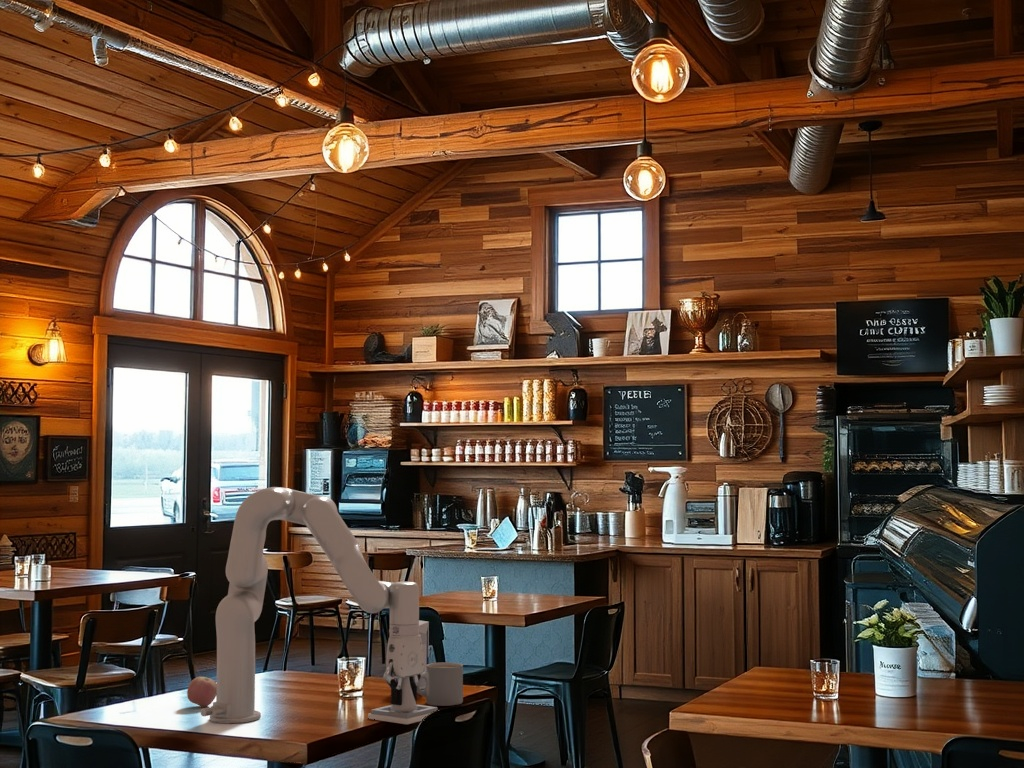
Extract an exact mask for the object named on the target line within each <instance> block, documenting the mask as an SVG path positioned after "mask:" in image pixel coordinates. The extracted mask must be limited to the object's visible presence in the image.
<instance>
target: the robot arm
mask: <svg viewBox="0 0 1024 768" xmlns="http://www.w3.org/2000/svg"><path fill="white" fill-rule="evenodd" d="M279 520H280V521H285V522H290V523H294V524H299V525H303V526H306V527H307V529H308V530H309V532H310V533H311V535H312V536H313V538H314V539H315V540H316V542H317V544H318V545H319V546H320V548H321V549H322V551H323V552H324V553H325V555H326V558H328V560H329V562H330V563H331V565H332V566H333V569H334V571H336V573H337V575H338V576H339V578H340V579H341V582H342V583H343V584H344V586H345V588H346V589H347V590H348V593H349V594H350V595H351V597H352V598H353V599H354V601H355V602H356V604H357V605H358V606H359V607H360V609H361V610H363V611H364V612H366V613H368V614H377V613H379V612H382V611H383V610H384V609H389V629H388V633H389V637H388V640H387V645H386V646H387V647H386V656H385V658H386V660H385V668H386V669H385V671H384V673H383V676H382V678H383V680H384V681H385V682H386V683H387V684H388V688H389V689H390V705H391V704H393V705H402V689H400V687H401V681H402V678H404V677H409V680H410V686H411V689H412V692H413V696H414V699H415V701H416V702H417V701H418V693H417V685H418V684H419V679H420V678H421V675H422V674H423V672H424V658H423V646H422V640H421V635H419V620H420V586H419V584H418V583H417V582H415V581H396V582H389V581H383V580H378V579H377V577H376V576H375V574H374V573H373V572H372V570H371V569H370V567H369V565H368V563H367V562H366V560H365V558H364V556H363V553H362V549H361V546H360V544H359V542H358V540H357V538H356V537H355V535H354V534H353V533H352V531H351V530H350V528H349V527H348V525H347V524H346V523H345V521H344V520H343V518H342V516H341V515H340V513H339V511H338V507H337V505H336V503H335V502H334V501H333V499H331V498H330V497H327V496H323V495H320V494H319V495H318V494H313V493H308V492H304V491H299V490H296V489H291V488H286V487H283V486H282V487H281V486H280V487H279V486H271V487H267V488H262V489H260V490H257V491H255V492H254V493H252V494H250V495H249V496H247V497H246V498H245V499H244V500H243V501H242V502H241V504H240V506H239V507H238V509H237V510H236V514H235V518H234V521H233V528H232V533H231V539H230V543H229V549H228V555H227V560H226V565H225V576H226V579H227V581H228V582H229V585H228V589H227V590H228V591H227V595H226V596H224V598H223V597H222V599H221V601H219V603H218V606H217V608H216V610H215V611H216V612H215V630H216V684H217V690H216V697H215V699H216V701H215V702H212V705H211V706H210V707H203V708H202V709H201V710H200V715H201V717H208V716H209V720H210V721H211V722H214V723H219V724H238V723H239V724H240V723H247V722H248V723H249V722H253V721H256V720H260V718H261V712H260V711H257V710H255V709H256V708H255V705H256V703H255V701H256V700H255V699H256V696H255V695H256V694H255V693H256V633H255V622H257V620H259V618H260V617H261V613H262V611H263V605H264V599H265V592H266V586H267V579H268V571H269V569H268V568H269V566H268V565H269V564H268V561H267V558H266V557H265V555H264V548H265V547H264V546H265V542H266V539H267V538H266V537H267V528H268V525H269V523H270V522H272V521H279ZM396 675H397V676H396ZM411 676H412V678H411ZM396 679H397V683H396Z"/></svg>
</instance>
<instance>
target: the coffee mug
mask: <svg viewBox="0 0 1024 768" xmlns="http://www.w3.org/2000/svg"><path fill="white" fill-rule="evenodd" d="M422 678H425V679H426V687H425V689H424V690H421V689H420V687H419V684H418V685H417V695H420V696H422V697H424V698H426V704H427V705H430V706H436V707H437V706H441V707H442V706H443V707H445V706H447V707H448V706H449V707H450V706H455V705H456V706H458V705H461V704H462V703H463V702H464V664H463V663H459V662H452V661H451V662H449V661H448V662H447V661H446V662H443V661H442V662H431V663H429V664H427V665H426V672H424V673H423V674H422V675H421V678H420V679H419V682H420V680H421V679H422Z"/></svg>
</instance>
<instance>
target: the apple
mask: <svg viewBox="0 0 1024 768" xmlns="http://www.w3.org/2000/svg"><path fill="white" fill-rule="evenodd" d="M216 690H217V681H216V680H214V679H212V678H209V677H207V676H196V677H195V678H193V679H192V680H191V681H190V683H189V684H188V688H187V691H186V694H187V699H188V701H190V703H192V704H195V705H196V706H197V705H198V706H200V708H201V707H202V708H208V706H209V705H211V704H213V701H215V699H216Z"/></svg>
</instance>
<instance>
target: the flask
mask: <svg viewBox="0 0 1024 768" xmlns="http://www.w3.org/2000/svg"><path fill="white" fill-rule="evenodd" d="M400 689H402V705H393V704H391V703H390V705H391V707H390V709H391V711H399V712H408V711H415V710H417V709H418V707H417V705H418V704H417V701H415V699H414V696H413V692H412V689H411V686H410V680H409V677H404V678H402V681H401V687H400Z"/></svg>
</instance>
